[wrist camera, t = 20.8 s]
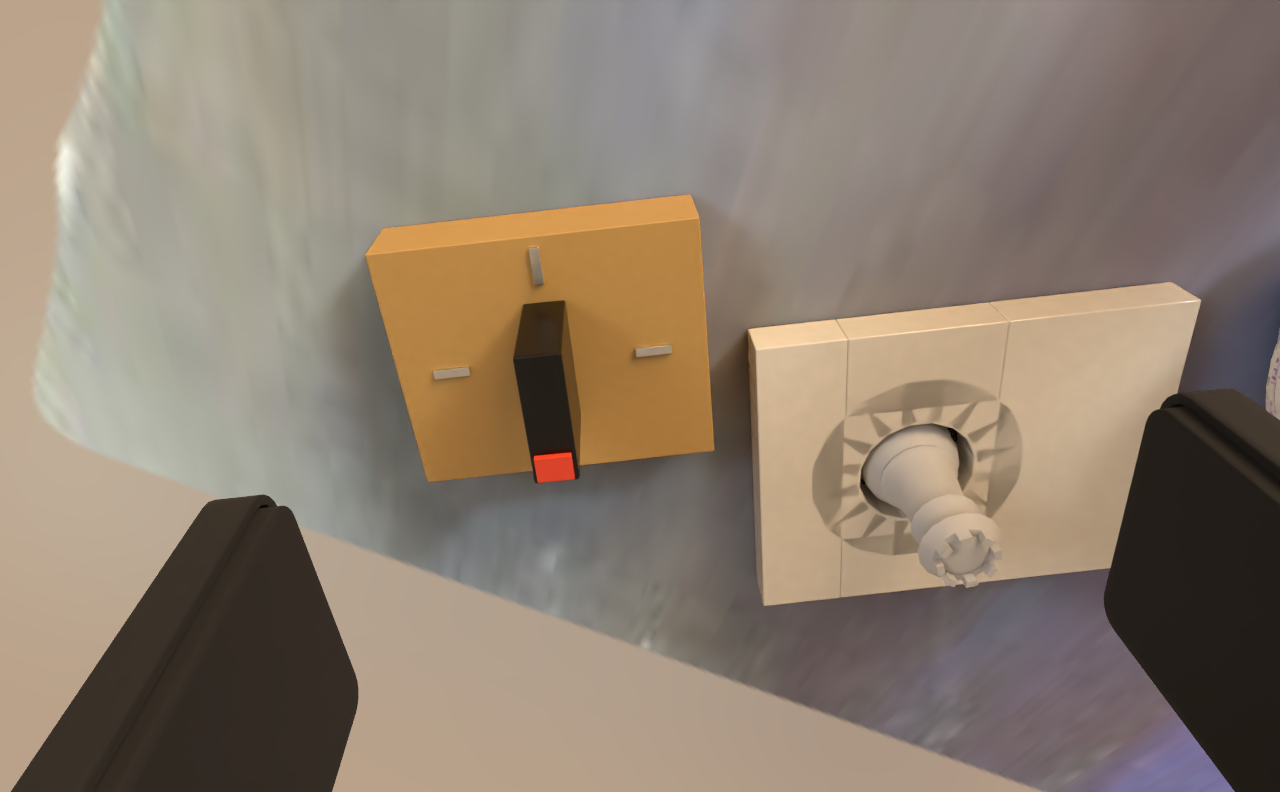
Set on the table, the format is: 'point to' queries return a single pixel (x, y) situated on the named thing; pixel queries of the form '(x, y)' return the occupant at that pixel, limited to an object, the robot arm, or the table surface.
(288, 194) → the table surface
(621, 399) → the orange dial base
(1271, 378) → the paper bowls
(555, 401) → the black battery pack
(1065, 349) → the white socket plate
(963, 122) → the table surface
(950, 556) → the rook chess piece
